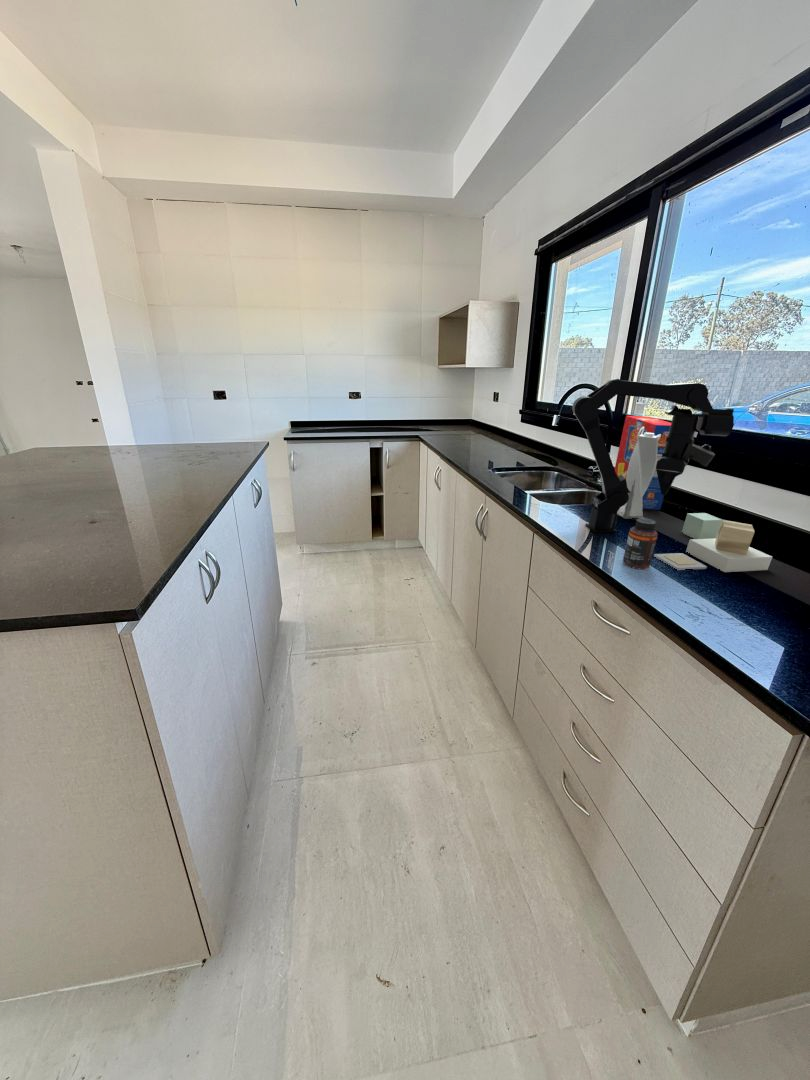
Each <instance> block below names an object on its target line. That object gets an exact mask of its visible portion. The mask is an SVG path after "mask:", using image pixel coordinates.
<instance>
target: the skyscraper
mask: <svg viewBox="0 0 810 1080" xmlns="http://www.w3.org/2000/svg"><path fill="white" fill-rule="evenodd" d="M642 428H643V429H642ZM642 428H641V429H640V430H639V433H638V435H637V438H638V441H637V444H636V446H635V448H634V451H633V453H632V456H631V459H630V462H629V466H628V471H627V479H626V482H627V488H628V489H629V491H630V492H631V493H628V495H629V500H628V501H627V503H626V504H625V505H624V506H622V507H620V509H619V510H618V511H617V515H618V516H619V517H622V518H623V519H624V520H626V519H627V520H629V519H631V520H633V519H632V518H646V517H644V515H643V510H644V509H643V507H642V497H643V495H644V493H645V492H646V490H647V488H648V486H649V484H650V481H651V479H652V476H653V473H654V470H655V466H656V461H657V449H658V440H659V439H660V437H661V434H659V435H657V436H654V433H644V435H643V431H644V426H643V427H642ZM641 430H642V432H641ZM640 432H641V435H640Z"/></svg>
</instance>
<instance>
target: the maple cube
mask: <svg viewBox="0 0 810 1080" xmlns="http://www.w3.org/2000/svg"><path fill="white" fill-rule="evenodd" d="M754 535H755V528H754V527H753V524H749V523H745V522H744V523H742V522H738V521H732V520H726V519H722V523H721V526H720V529H719V531H718V534H717V537H716V540H715V545H716V549H717V550H722V551H727V552H732V553H737V554H742V555H746V554H747V551H748V549H749V547H751V546H750V545H751V543H752V540H753V537H754Z"/></svg>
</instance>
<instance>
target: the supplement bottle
mask: <svg viewBox="0 0 810 1080" xmlns="http://www.w3.org/2000/svg"><path fill="white" fill-rule="evenodd" d="M656 523H657V522H656V521H655V520H654V519H649V518H646V517H645V518H639V519H636V522H635V525H634V526H632V527H630V529H629V531H628V537H627V541H626V545H625V548H624V553H623V558H622V563H623V564H624V563H625V564H624V565H625V566H627V565H628V566H627V567H629V566H630V568H632V567H634V568H633V569H637V568H640V569H639V570H645V568H646V569H648V568H650V566H651V563H652V559H653V557H654V551H655V548H656V543H657V540H658V531H657V530H655V528H656Z"/></svg>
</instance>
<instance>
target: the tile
mask: <svg viewBox="0 0 810 1080" xmlns="http://www.w3.org/2000/svg"><path fill="white" fill-rule="evenodd" d="M655 557H656V558H655ZM653 558H655V559H657V560H659V561H660V560H661V561H660V562H662V561H663V562H662V563H664V564H665V563H666V565H667V564H668V566H669V565H670V566H671V568H672V567H673V568H672V569H674V568H675V569H677V570H676V571H686V570H685V569H693V570H706V569H707V568H708V565H705V564H704V563H702V562H699V561H697V560H696V559H694V558H692V557H690V556H688V555H687V554H684V553H682V552H681V553H680V552H679V553H678V552H674V553H655V554H654V553H653ZM670 566H669V567H670ZM675 569H674V570H675Z"/></svg>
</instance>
